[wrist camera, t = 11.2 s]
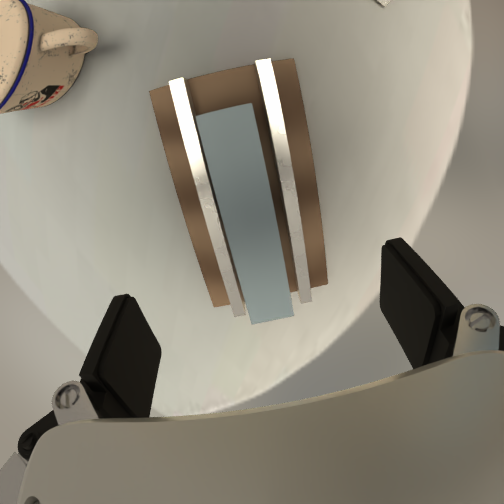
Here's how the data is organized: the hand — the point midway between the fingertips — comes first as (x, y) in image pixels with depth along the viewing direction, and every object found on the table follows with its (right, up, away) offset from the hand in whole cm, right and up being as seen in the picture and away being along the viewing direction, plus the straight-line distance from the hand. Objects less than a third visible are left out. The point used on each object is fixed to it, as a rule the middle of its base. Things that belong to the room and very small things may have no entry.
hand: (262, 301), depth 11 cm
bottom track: (-1, +7, +14) cm, 15 cm away
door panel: (-1, +6, +13) cm, 15 cm away
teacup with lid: (-17, +18, +7) cm, 26 cm away
